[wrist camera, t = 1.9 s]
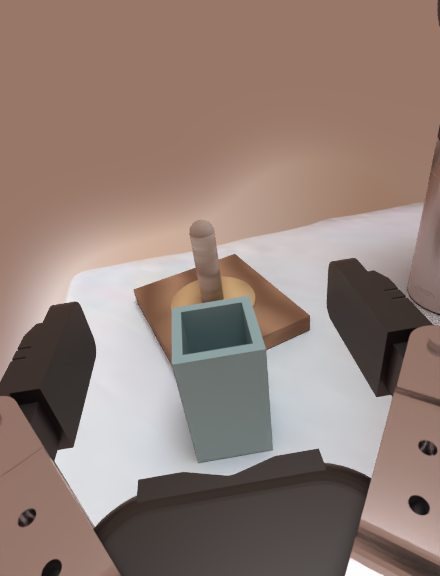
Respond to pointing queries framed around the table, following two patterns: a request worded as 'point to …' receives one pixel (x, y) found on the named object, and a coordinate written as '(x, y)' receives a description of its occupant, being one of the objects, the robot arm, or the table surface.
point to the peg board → (232, 266)
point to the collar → (222, 377)
